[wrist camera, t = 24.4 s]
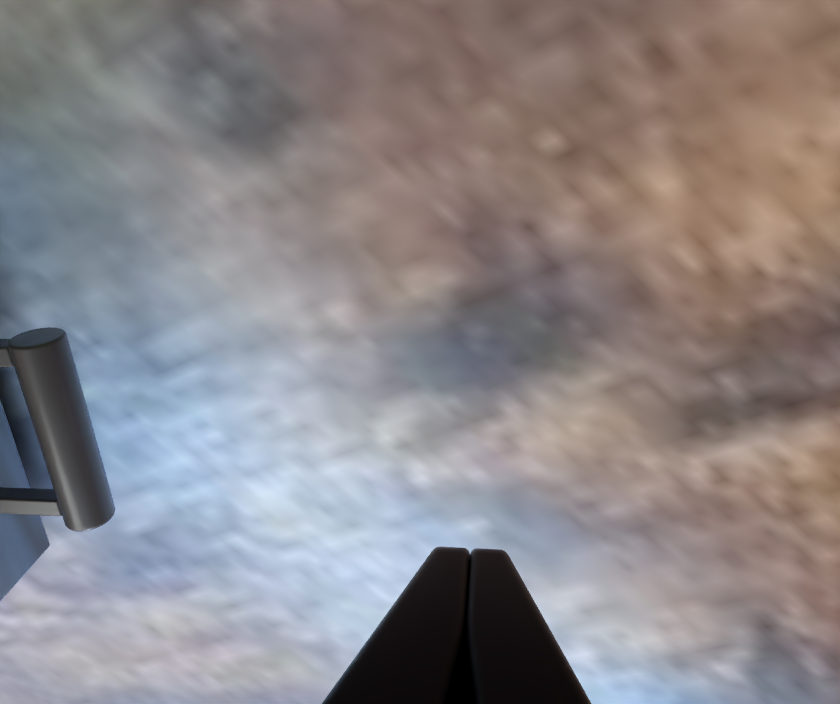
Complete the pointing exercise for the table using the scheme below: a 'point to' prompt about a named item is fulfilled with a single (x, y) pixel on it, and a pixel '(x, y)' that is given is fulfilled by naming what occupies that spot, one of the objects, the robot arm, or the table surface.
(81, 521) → the drawer
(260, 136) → the table surface
